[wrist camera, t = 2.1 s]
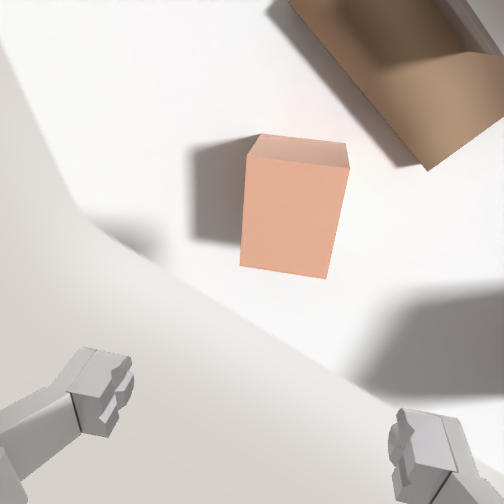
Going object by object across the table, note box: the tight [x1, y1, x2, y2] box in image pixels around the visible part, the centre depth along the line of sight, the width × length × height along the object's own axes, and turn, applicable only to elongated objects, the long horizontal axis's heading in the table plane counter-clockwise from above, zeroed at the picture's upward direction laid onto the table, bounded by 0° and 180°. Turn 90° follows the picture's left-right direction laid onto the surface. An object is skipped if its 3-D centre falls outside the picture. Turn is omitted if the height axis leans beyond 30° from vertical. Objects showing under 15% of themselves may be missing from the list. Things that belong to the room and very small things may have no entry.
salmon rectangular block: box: [240, 134, 350, 279], centre depth 23 cm, size 5×7×5 cm
